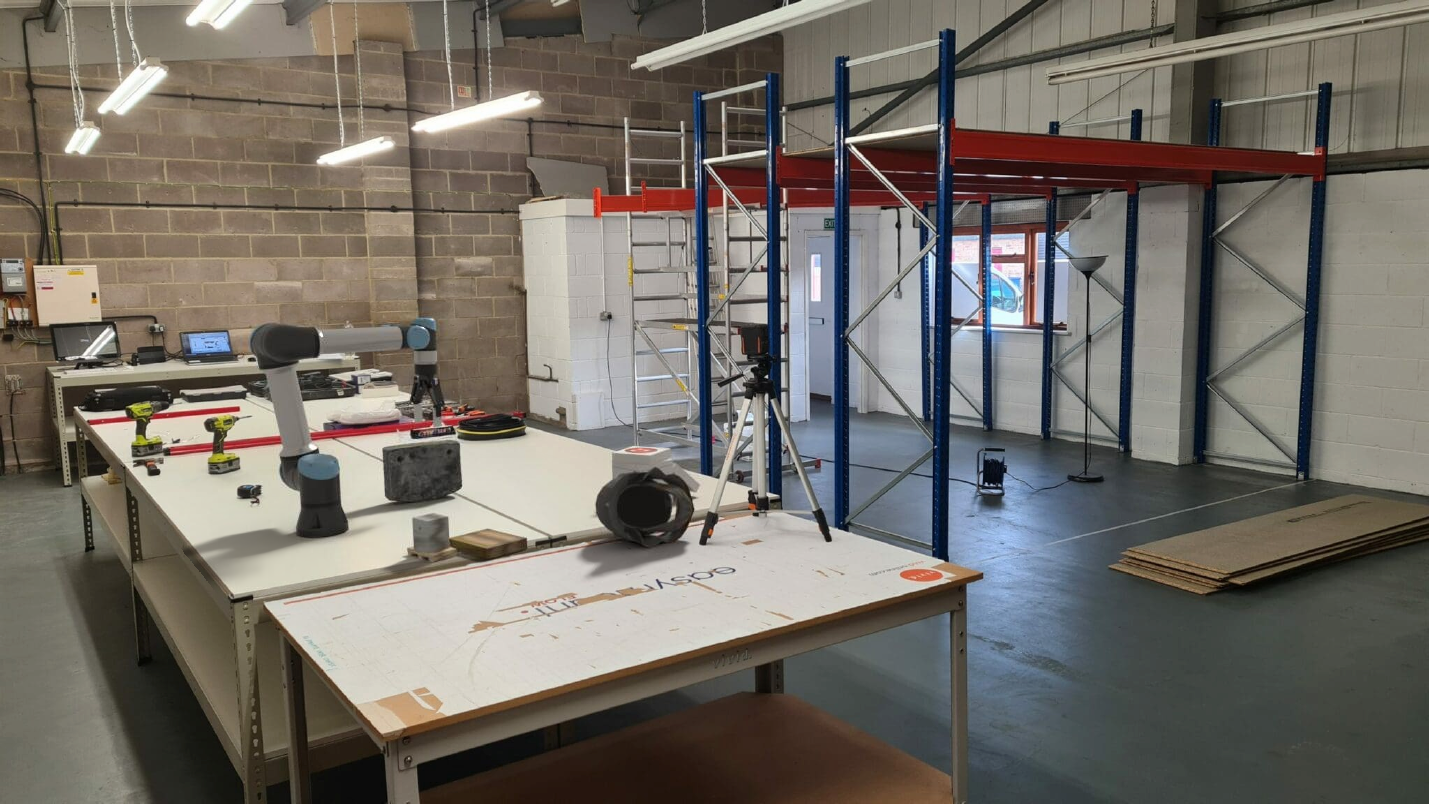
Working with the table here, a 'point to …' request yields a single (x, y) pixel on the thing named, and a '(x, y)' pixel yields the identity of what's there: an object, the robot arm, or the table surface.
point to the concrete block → (422, 470)
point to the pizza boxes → (649, 463)
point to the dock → (488, 543)
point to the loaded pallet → (431, 537)
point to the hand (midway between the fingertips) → (427, 424)
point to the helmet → (645, 507)
